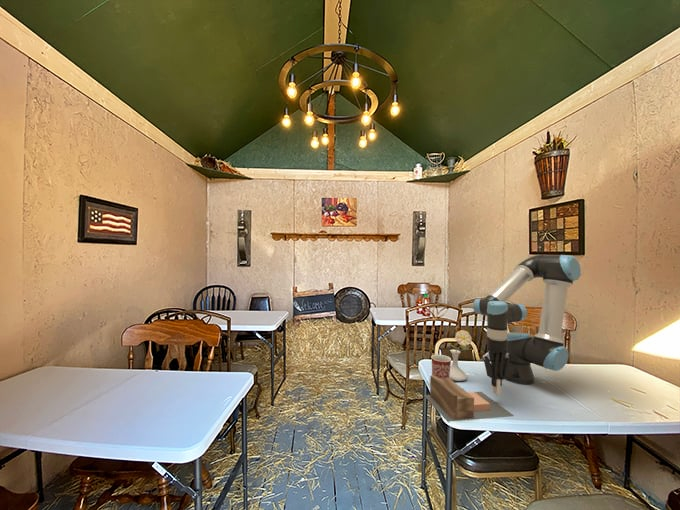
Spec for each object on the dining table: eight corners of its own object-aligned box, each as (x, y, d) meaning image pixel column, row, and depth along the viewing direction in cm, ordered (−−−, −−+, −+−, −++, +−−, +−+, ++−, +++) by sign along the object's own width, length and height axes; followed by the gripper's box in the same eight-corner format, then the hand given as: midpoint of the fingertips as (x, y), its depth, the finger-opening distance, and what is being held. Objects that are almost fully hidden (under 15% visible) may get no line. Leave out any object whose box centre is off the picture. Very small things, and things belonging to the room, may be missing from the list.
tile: (474, 397, 126) (474, 391, 126) (489, 410, 116) (489, 403, 116) (444, 399, 123) (444, 393, 123) (457, 412, 114) (458, 406, 114)
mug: (453, 391, 132) (453, 361, 132) (432, 389, 133) (433, 360, 133) (445, 379, 145) (446, 352, 145) (427, 378, 146) (428, 351, 146)
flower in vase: (442, 380, 143) (443, 330, 143) (443, 372, 154) (444, 325, 154) (471, 385, 138) (472, 333, 138) (470, 376, 149) (471, 328, 149)
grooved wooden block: (448, 394, 128) (448, 374, 128) (473, 417, 110) (474, 394, 110) (430, 395, 127) (430, 375, 126) (452, 419, 109) (453, 395, 109)
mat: (481, 392, 132) (481, 391, 132) (514, 417, 112) (514, 416, 112) (423, 396, 127) (423, 395, 127) (448, 422, 107) (448, 421, 107)
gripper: (504, 334, 127) (503, 388, 127) (477, 336, 124) (477, 390, 125) (517, 340, 119) (516, 396, 120) (489, 341, 117) (488, 399, 117)
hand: (496, 393), depth 122 cm, fingers closed
